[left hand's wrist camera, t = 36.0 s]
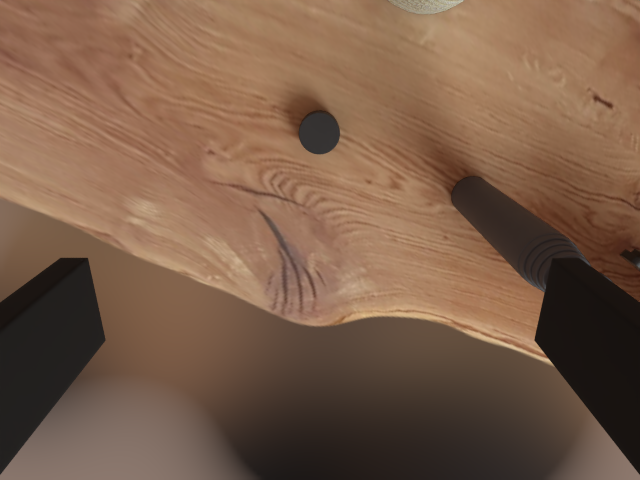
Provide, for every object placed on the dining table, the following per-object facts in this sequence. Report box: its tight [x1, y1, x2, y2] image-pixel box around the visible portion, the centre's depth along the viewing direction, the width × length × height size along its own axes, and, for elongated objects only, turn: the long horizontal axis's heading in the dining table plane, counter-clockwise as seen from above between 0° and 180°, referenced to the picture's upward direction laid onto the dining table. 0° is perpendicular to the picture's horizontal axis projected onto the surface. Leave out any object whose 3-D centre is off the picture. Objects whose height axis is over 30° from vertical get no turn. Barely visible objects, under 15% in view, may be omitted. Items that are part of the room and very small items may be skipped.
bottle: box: [452, 176, 612, 292], centre depth 38 cm, size 4×4×24 cm
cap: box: [299, 111, 340, 154], centre depth 45 cm, size 4×4×2 cm
